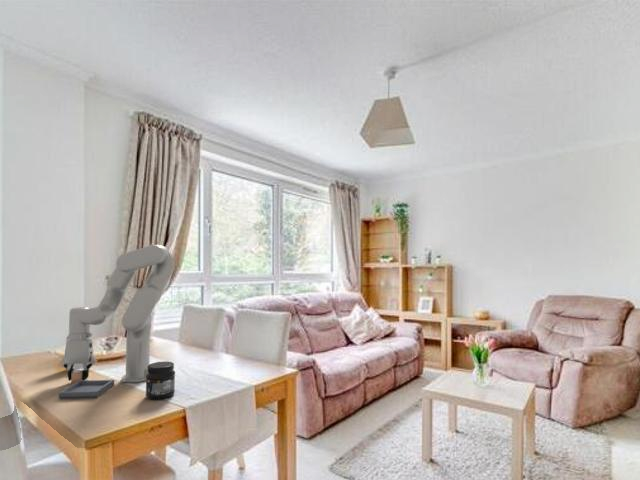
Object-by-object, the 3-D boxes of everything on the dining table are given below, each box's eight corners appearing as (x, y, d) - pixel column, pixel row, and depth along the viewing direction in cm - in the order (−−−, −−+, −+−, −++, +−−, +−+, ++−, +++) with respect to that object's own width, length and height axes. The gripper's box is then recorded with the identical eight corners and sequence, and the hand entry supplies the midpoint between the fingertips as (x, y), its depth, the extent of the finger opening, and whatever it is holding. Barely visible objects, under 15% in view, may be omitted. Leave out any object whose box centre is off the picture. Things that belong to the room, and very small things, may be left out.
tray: (114, 385, 160) (114, 379, 160) (97, 398, 146) (97, 391, 146) (79, 386, 159) (79, 380, 159) (58, 399, 145) (58, 392, 145)
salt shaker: (87, 380, 166) (87, 368, 166) (81, 384, 161) (81, 371, 161) (75, 381, 166) (75, 368, 166) (68, 385, 161) (68, 371, 161)
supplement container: (153, 390, 154) (153, 360, 155) (179, 391, 154) (179, 361, 154) (140, 400, 144) (140, 368, 144) (167, 401, 143) (168, 368, 144)
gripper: (104, 334, 169) (103, 376, 168) (63, 334, 167) (62, 377, 167) (95, 338, 161) (94, 381, 160) (53, 338, 160) (51, 382, 159)
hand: (78, 378), depth 164 cm, fingers closed on salt shaker, 5 cm apart
